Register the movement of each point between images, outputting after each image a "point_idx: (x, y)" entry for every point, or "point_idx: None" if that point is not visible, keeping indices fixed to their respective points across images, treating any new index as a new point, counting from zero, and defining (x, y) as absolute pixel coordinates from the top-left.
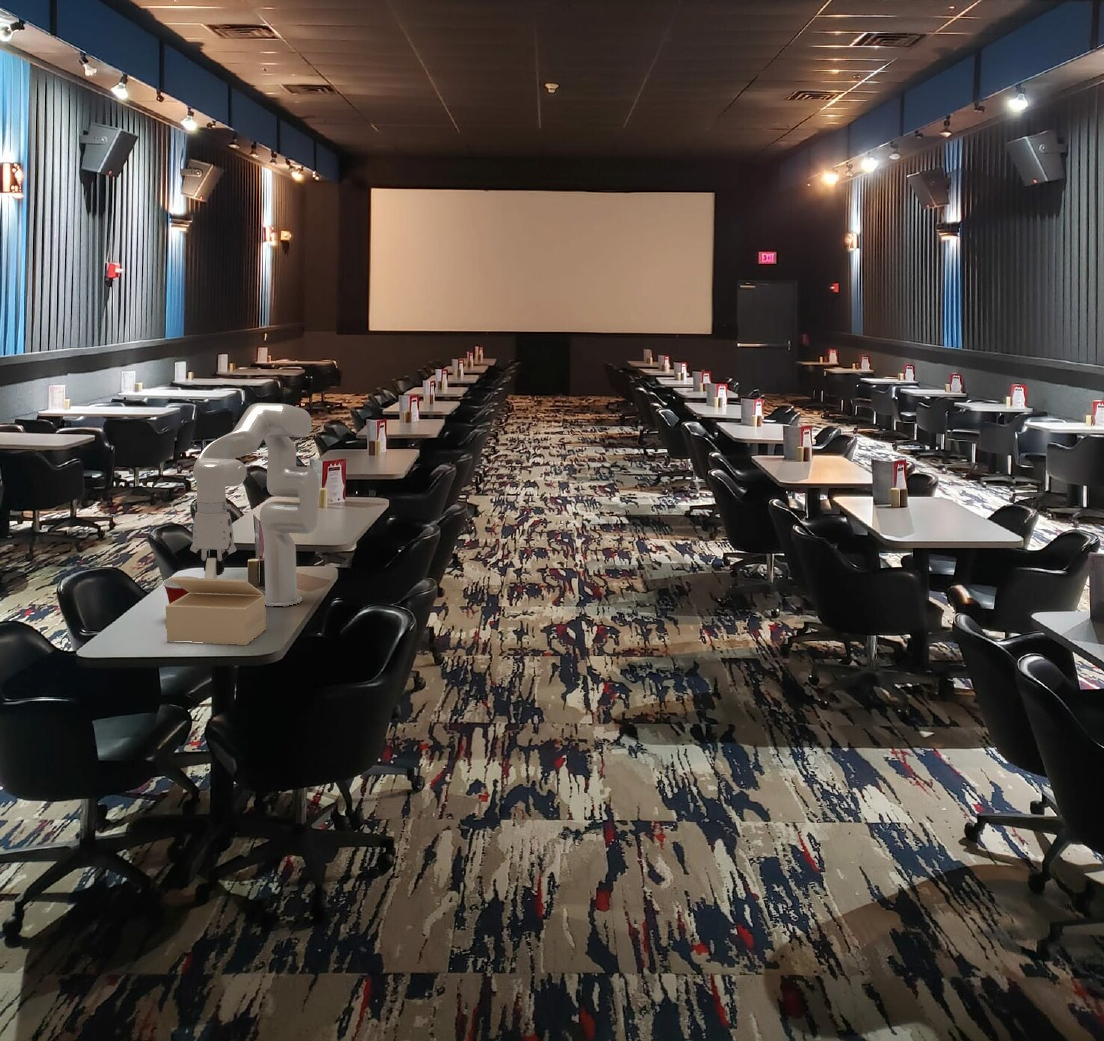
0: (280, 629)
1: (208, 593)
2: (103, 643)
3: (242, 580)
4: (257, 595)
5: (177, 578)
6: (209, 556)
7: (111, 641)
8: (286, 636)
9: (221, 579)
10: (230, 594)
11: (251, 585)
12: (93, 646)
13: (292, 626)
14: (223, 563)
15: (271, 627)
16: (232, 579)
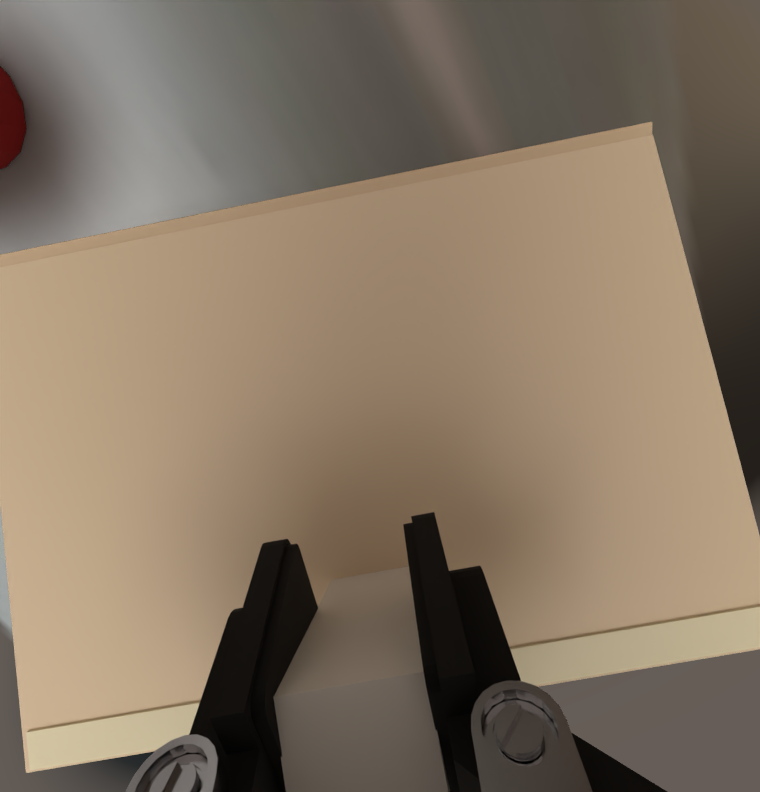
0: (611, 119)
1: (145, 226)
2: (3, 580)
3: (752, 648)
4: (589, 146)
5: (107, 754)
6: (214, 781)
7: (4, 551)
8: (684, 246)
9: (538, 684)
10: (344, 193)
11: (732, 457)
12: (7, 616)
13: (660, 22)
14: (509, 661)
15: (546, 92)
16: (651, 666)
